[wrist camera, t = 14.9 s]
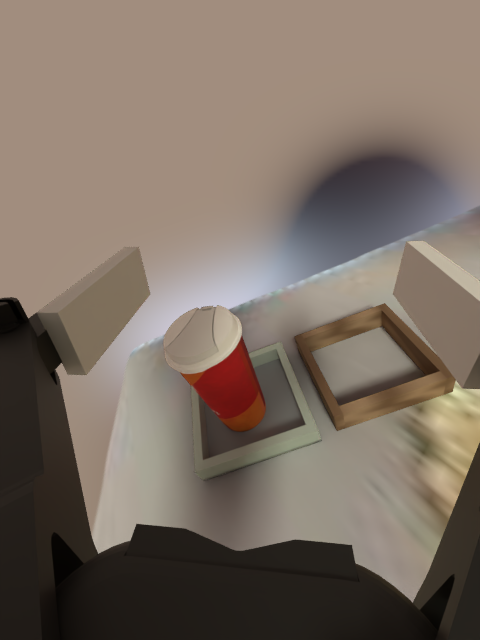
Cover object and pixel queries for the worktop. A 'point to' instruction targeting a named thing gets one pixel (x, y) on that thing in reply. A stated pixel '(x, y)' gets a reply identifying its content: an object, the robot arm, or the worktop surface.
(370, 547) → the worktop surface
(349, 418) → the walnut tray
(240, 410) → the coffee cup
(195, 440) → the green square tray
